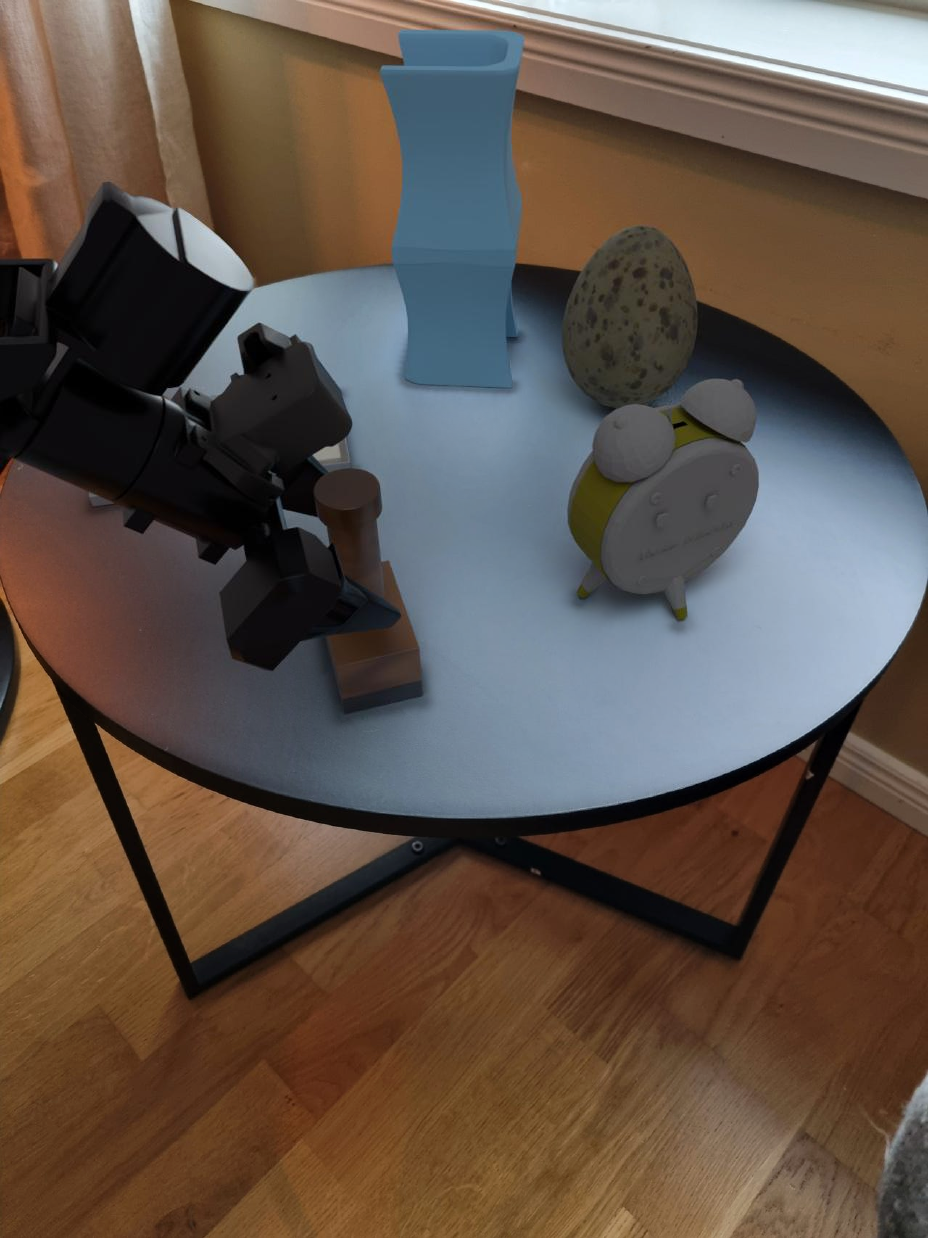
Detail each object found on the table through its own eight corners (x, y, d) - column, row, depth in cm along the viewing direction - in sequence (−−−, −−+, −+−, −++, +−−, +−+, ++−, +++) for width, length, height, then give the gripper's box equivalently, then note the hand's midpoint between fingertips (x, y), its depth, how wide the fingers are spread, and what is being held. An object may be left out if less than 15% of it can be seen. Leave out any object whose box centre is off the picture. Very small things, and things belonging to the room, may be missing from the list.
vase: (416, 327, 89) (398, 28, 70) (518, 331, 88) (526, 29, 70) (401, 383, 82) (377, 69, 64) (511, 388, 81) (519, 70, 63)
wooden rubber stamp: (344, 714, 56) (313, 544, 46) (321, 624, 62) (289, 453, 52) (423, 695, 57) (409, 525, 47) (393, 608, 63) (375, 437, 53)
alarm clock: (693, 535, 67) (733, 351, 56) (753, 593, 63) (809, 406, 52) (556, 587, 64) (570, 401, 53) (609, 653, 60) (637, 465, 49)
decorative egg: (655, 450, 74) (684, 272, 64) (536, 414, 78) (544, 240, 67) (700, 385, 81) (734, 213, 70) (588, 355, 85) (603, 187, 74)
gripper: (254, 434, 35) (523, 581, 45) (207, 231, 47) (426, 381, 57) (104, 622, 39) (380, 718, 49) (97, 391, 51) (318, 505, 61)
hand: (378, 565), depth 54 cm, fingers open, 9 cm apart
